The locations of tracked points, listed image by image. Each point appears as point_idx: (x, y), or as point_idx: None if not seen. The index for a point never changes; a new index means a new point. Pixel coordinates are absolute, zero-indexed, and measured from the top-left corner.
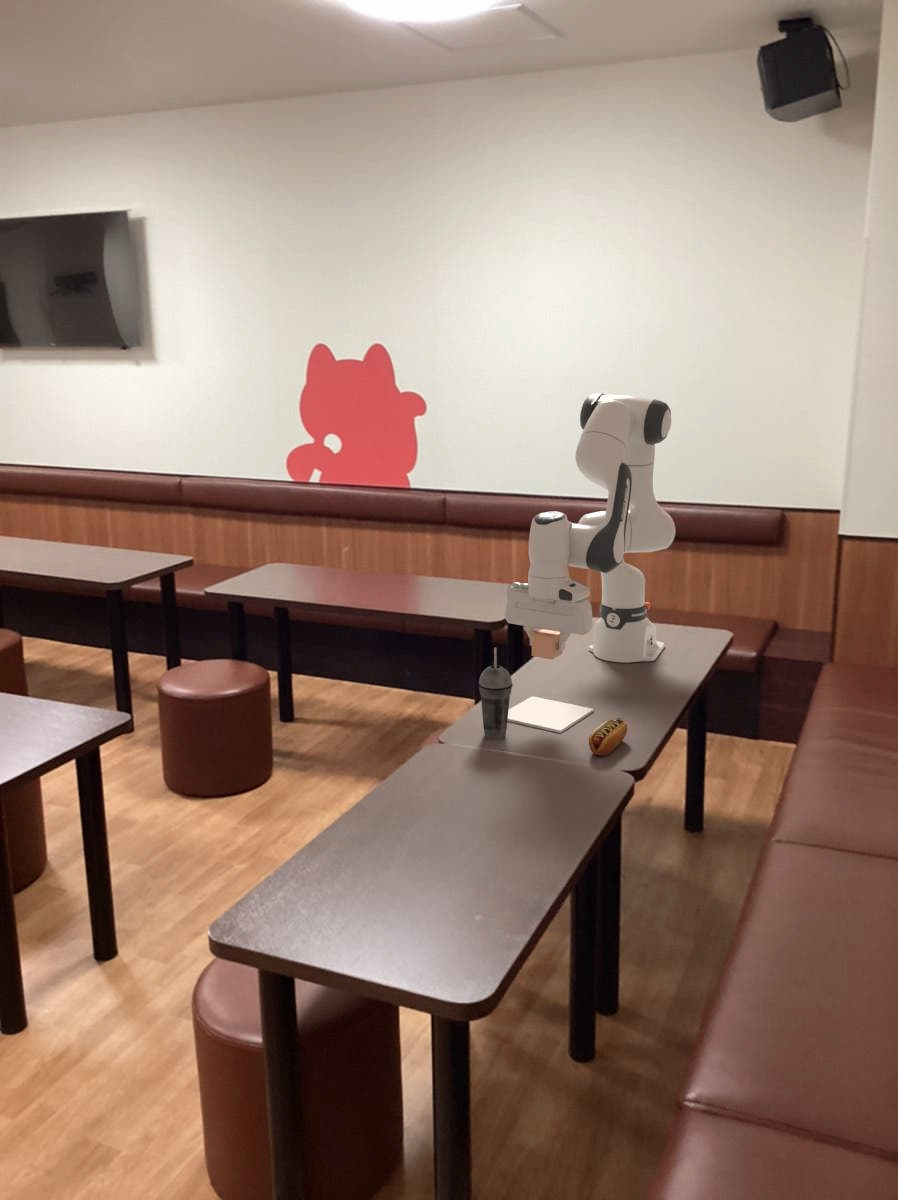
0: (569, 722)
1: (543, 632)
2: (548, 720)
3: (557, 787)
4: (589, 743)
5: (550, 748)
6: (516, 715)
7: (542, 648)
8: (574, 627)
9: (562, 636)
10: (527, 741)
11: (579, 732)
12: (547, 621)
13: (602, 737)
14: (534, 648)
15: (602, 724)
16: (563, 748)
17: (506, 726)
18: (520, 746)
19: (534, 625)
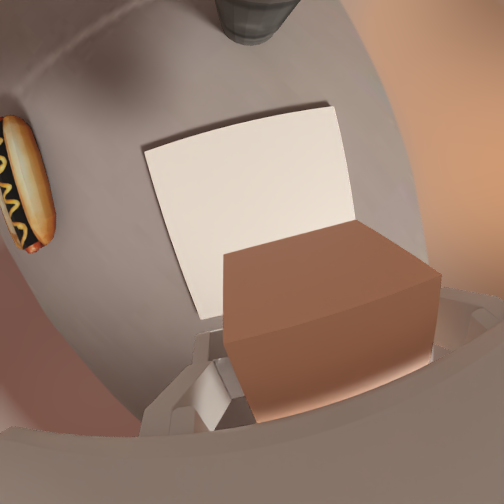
0: (169, 210)
1: (385, 376)
2: (216, 178)
3: (16, 8)
4: (15, 116)
5: (102, 72)
6: (303, 144)
7: (301, 259)
8: (25, 470)
9: (172, 408)
10: (166, 54)
11: (121, 192)
12: (357, 485)
13: None
14: (360, 239)
15: (21, 187)
16: (83, 96)
17: (223, 25)
18: (158, 26)
19: (479, 348)
